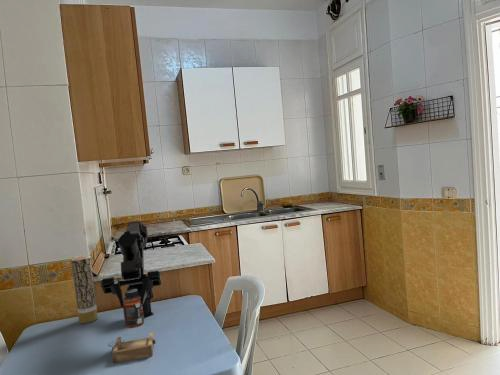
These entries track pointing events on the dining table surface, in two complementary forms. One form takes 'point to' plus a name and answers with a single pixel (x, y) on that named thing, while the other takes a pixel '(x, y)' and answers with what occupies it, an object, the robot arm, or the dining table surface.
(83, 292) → the paper tube
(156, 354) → the dining table surface
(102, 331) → the dining table surface
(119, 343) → the holder
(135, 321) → the supplement bottle
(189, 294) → the dining table surface
